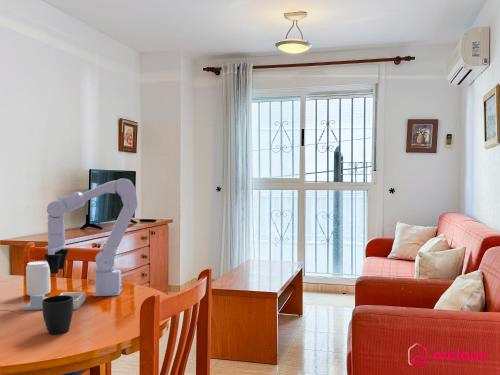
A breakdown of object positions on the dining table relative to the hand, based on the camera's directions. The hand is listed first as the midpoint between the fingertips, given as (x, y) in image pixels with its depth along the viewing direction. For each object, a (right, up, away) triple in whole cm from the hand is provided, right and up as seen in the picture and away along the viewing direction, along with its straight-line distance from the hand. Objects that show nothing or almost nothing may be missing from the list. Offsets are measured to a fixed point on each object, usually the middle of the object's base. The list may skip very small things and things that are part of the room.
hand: (57, 271), depth 173 cm
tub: (+8, -10, -9) cm, 16 cm away
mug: (+14, -11, -34) cm, 39 cm away
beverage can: (-10, -10, +6) cm, 15 cm away
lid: (-2, -10, -8) cm, 13 cm away
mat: (-2, -10, -8) cm, 13 cm away
